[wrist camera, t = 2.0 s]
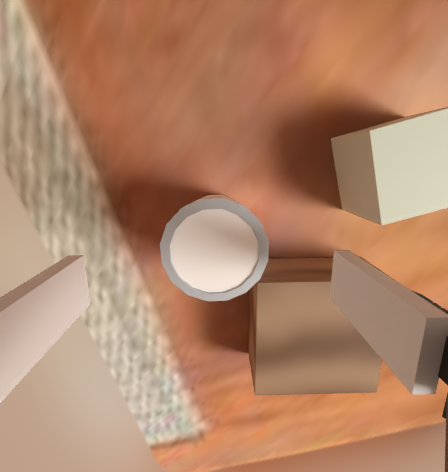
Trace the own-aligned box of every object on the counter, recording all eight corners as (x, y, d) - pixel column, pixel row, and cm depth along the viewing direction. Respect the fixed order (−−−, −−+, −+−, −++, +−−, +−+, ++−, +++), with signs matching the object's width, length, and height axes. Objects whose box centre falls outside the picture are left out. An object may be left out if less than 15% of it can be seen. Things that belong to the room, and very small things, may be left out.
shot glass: (159, 217, 24) (136, 241, 17) (225, 169, 23) (227, 174, 16) (207, 277, 25) (203, 321, 18) (270, 235, 24) (290, 264, 17)
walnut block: (250, 259, 25) (257, 282, 20) (360, 256, 25) (395, 280, 20) (248, 353, 27) (255, 395, 22) (348, 351, 27) (376, 392, 23)
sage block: (329, 138, 22) (369, 130, 16) (404, 117, 22) (471, 101, 16) (341, 209, 24) (381, 225, 18) (411, 190, 23) (474, 200, 18)
